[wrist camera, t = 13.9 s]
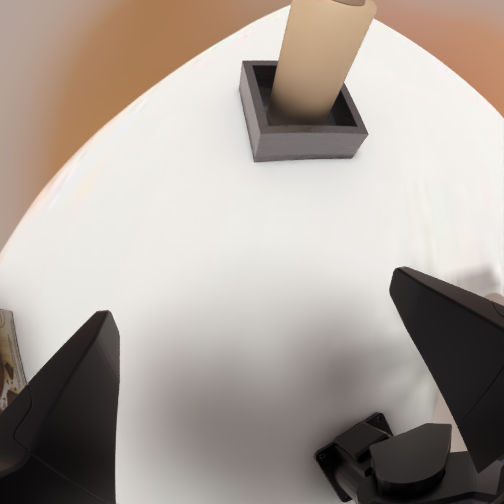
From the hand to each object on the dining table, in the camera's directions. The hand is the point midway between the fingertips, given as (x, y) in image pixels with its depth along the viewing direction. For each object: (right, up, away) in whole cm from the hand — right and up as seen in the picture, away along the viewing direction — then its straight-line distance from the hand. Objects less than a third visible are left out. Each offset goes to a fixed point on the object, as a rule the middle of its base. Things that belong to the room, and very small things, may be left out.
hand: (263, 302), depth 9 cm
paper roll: (+4, +15, +18) cm, 24 cm away
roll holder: (+4, +14, +19) cm, 24 cm away
